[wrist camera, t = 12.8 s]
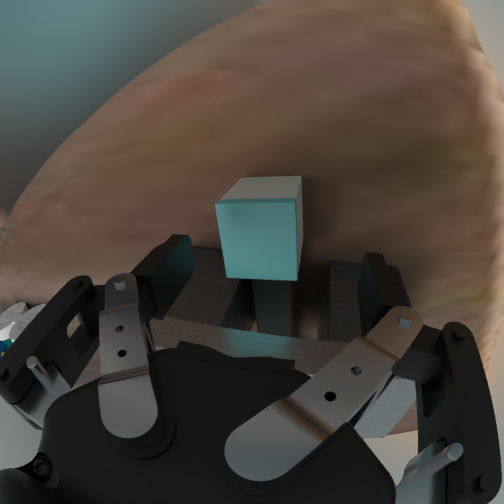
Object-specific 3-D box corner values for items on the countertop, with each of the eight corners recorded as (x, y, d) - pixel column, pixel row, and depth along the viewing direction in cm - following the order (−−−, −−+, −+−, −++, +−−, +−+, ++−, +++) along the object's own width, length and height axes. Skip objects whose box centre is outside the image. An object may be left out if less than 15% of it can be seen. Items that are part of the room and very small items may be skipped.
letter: (59, 304, 37) (22, 344, 28) (66, 315, 38) (30, 355, 29) (14, 301, 44) (-13, 328, 35) (19, 309, 45) (-7, 336, 36)
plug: (262, 362, 31) (251, 404, 26) (241, 177, 21) (215, 204, 16) (301, 365, 30) (294, 409, 25) (301, 176, 20) (294, 202, 15)
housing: (197, 312, 29) (149, 400, 19) (187, 246, 25) (116, 334, 15) (375, 334, 25) (384, 437, 16) (397, 267, 21) (431, 378, 12)
